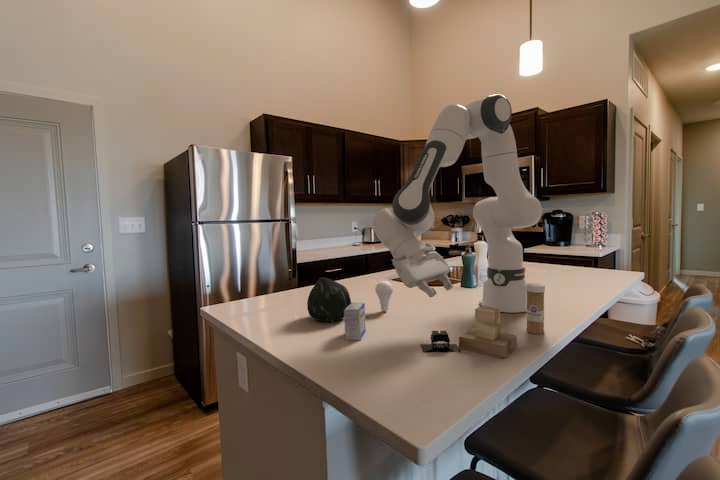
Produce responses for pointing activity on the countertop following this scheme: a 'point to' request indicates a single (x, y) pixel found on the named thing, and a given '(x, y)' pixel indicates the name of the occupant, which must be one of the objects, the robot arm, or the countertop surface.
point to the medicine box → (354, 321)
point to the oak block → (487, 322)
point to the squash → (328, 300)
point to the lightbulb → (384, 294)
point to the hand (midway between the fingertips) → (442, 292)
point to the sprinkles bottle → (535, 308)
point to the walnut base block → (488, 344)
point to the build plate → (439, 346)
